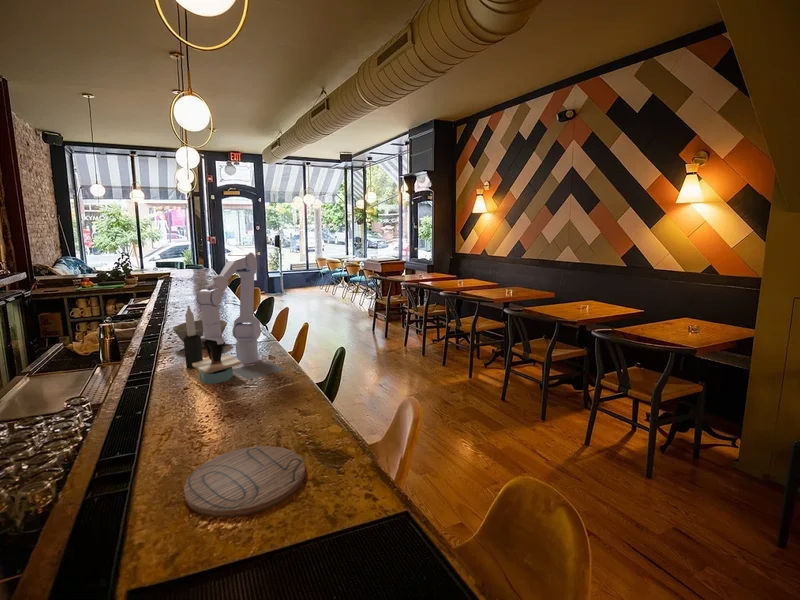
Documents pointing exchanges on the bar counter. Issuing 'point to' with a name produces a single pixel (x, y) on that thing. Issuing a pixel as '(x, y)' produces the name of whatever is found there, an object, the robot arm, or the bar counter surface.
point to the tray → (258, 370)
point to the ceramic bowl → (182, 329)
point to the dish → (217, 376)
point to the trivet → (244, 481)
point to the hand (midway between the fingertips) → (215, 360)
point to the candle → (192, 342)
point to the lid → (216, 364)
